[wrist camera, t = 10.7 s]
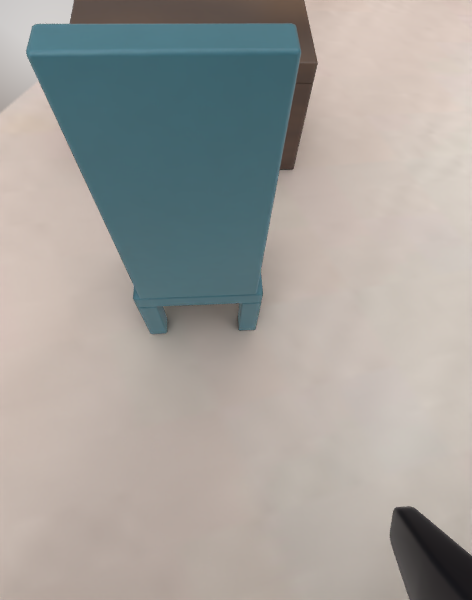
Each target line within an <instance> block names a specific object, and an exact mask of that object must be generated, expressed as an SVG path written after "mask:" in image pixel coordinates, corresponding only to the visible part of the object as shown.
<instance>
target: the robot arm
mask: <svg viewBox="0 0 472 600" xmlns="http://www.w3.org/2000/svg"><path fill="white" fill-rule="evenodd" d="M390 541H391V545H392V548H393V551H394V554H395V557H396V560H397V563H398V566H399V569H400V572H401V575H402V578H403V581H404V584H405V587H406V590H407V593H408V596H409V599H410V600H472V556H471V555H470V554H469V553H468V552H467V551H465V550H464V549H463V548H462V547H461V546H459V545H458V544H457V543H456V542H455V541H453V540H452V539H451V538H450V537H449V536H448V535H446V534H445V533H444V532H443V531H442V530H440V529H439V528H438V527H437V526H436V525H434V524H433V523H432V522H431V521H430V520H428V519H427V518H426V517H425V516H424V515H423V514H421V513H420V512H419V511H418V510H417V509H415V508H413V507H411V506H406V507H396V508H395V509H394V511H393V516H392V522H391V528H390Z"/></svg>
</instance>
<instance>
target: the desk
mask: <svg viewBox="0 0 472 600" xmlns="http://www.w3.org/2000/svg"><path fill="white" fill-rule="evenodd" d="M247 23H292V24H295V25H296V28H297V33H298V38H299V43H300V49H301V57H300V62H299V68H298V73H297V78H296V84H295V89H294V95H293V100H292V105H291V111H290V116H289V121H288V127H287V132H286V138H285V143H284V148H283V154H282V159H281V165H280V169H293V168H294V164H295V160H296V155H297V151H298V146H299V142H300V138H301V133H302V129H303V125H304V120H305V116H306V112H307V107H308V103H309V99H310V94H311V90H312V86H313V81H314V77H315V73H316V68H317V64H318V62H317V58H316V53H315V49H314V44H313V39H312V35H311V30H310V25H309V21H308V16H307V11H306V7H305V2H304V0H74V4H73V9H72V14H71V19H70V24H247Z"/></svg>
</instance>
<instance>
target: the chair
mask: <svg viewBox="0 0 472 600" xmlns="http://www.w3.org/2000/svg"><path fill="white" fill-rule="evenodd" d="M26 54H27V57H28V59H29V61H30V63H31V65H32V67H33V70H34V72H35V74H36V76H37V78H38V80H39V83H40V85H41V87H42V89H43V91H44V93H45V95H46V98H47V100H48V102H49V104H50V106H51V108H52V111H53V113H54V115H55V117H56V119H57V121H58V123H59V126H60V128H61V130H62V132H63V134H64V136H65V138H66V141H67V143H68V145H69V147H70V149H71V151H72V154H73V156H74V158H75V160H76V162H77V164H78V166H79V169H80V171H81V173H82V175H83V177H84V179H85V181H86V184H87V186H88V188H89V190H90V192H91V194H92V197H93V199H94V201H95V203H96V205H97V207H98V209H99V212H100V214H101V216H102V218H103V220H104V222H105V225H106V227H107V229H108V231H109V233H110V235H111V237H112V240H113V242H114V244H115V246H116V248H117V250H118V252H119V255H120V257H121V259H122V261H123V263H124V265H125V268H126V270H127V272H128V274H129V276H130V278H131V280H132V283H133V285H134V293H133V300H134V302H135V304H136V306H137V307H138V309H139V311H140V313H141V315H142V317H143V319H144V321H145V323H146V325H147V327H148V329H149V331H150V333H151V334H162V333H167V317H166V314H165V311H164V308H163V306H181V305H207V304H232V303H239V310H238V325H239V330H255V328H256V324H257V319H258V315H259V310H260V306H261V300H262V296H263V289H262V278H261V267H262V262H263V256H264V251H265V245H266V240H267V235H268V229H269V224H270V218H271V213H272V208H273V202H274V197H275V191H276V186H277V181H278V175H279V170H280V165H281V159H282V154H283V148H284V143H285V138H286V132H287V127H288V121H289V116H290V111H291V105H292V100H293V95H294V89H295V84H296V78H297V73H298V68H299V62H300V57H301V49H300V43H299V38H298V33H297V28H296V25H295V24H292V23H247V24H36V25H34V26H32V30H31V34H30V38H29V42H28V46H27V50H26Z"/></svg>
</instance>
